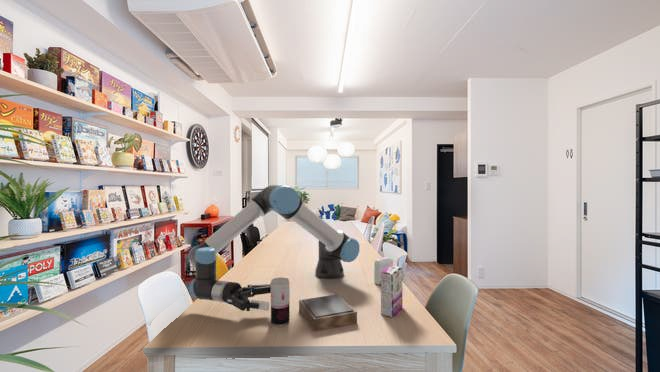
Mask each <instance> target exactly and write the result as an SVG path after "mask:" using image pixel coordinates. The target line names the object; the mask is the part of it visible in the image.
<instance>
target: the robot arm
mask: <svg viewBox="0 0 660 372" xmlns="http://www.w3.org/2000/svg"><path fill="white" fill-rule="evenodd" d="M271 211H273V212H276V213H277V214H278V215H279V216H281V217H282V218H283V219H285V220H287V221H289V220H292V221H293V222H295V224H297V225H298V226H300V227H301V228H302V229H304V230H305V231H306V232H308V233H309V234H310V235H312V236H313V237H314V238H316V239H317V240H318V261H317V264H316V267H315V272H314V273H315V276H316V277H318V278H321V279H336V278H337V279H338V278H341V277H343V276H344V273H345V271H344V267H343V264H342V262H345V263H352V262H354V261H355V260H356V259H357V258H358V257H359V254H360V243H359V242H358V240H357V239H355V238H354V237H350V236H348V235H347V234H346V233H345V232H343V231H342V230H339V229H338V230H336V229H335V228H333V227H332V226H331V225H330V224H329V223H327V222H326V221H325V220H323V219H322V217H320V216H319V215H317V213H315V212H314V211H313V210H311V209H310V208H309V207H308V206H306V205H305V204H304V199H303V198H302V197H300V195H299V193H298V191H297V190H296V189H295V188H293V187H292V186H289V185H285V184H283V185H277V184H276V185H275V184H272V185H268V186H266V187H264V188H263V189H262V190H261V191H259V192H258V193H257V194H256V195H255V196H253V197H252V198H251V199H250V200H249V204H247V205H246V206H245V207H244V208H243V209H241V210H240V211H239V212H237V213H236V214H235V215H234V216H233V217H232V218H230V219H229V220H228V221H227V222H225V224H223V225H222V226H221V227H219V229H217V230H216V231H215V232H213V234H211V235H210V236H209V237H208V238H206V239H205V240H204V241H202V243H200V244H199V245H195V246H194V247H192V248H191V249H190V250H189V254H188V257H189V258H188V259H189V261H190V263H191V264H192V265H193V267H194V268H195V271H194V272H195V278H193V279H191V281H190V282H189V287H188V294H189V295H190V296H191V298H194V299H198V300H205V301H213V302H218V303H221V304H222V303H225V304H228V305H232V306H234V307H235V308H237V309H239V310H240V311H241V312H242V311H243V312H244V311H246V312H250V311H251V309H252V310H260V311H266V312H267V311H269V310H270V302H269V301H264V300H256V299H249V298H254V297H255V296H259V295H265V294H267V295H268V294H271V283H269V284H268V283H267V284H266V283H265V284H264V283H263V284H247V286H243V287H242V285H241V284H240V283H239V282H236V281H235V282H234V281H227V280H218V279H217V258H218V257H217V254H218V253H220V252H221V251H222V250H223V249H224V248H225V247H227V245H229V244H230V243H231V242H232V241H233V240H234V239H236V238H237V237H238V236H239V235H240V234H241V233H243V232H244V231H245V230H246V229H248V227H250V226H251V225H252V224H253V223H254V222H255V221H257V219H259V218H260V217H265V216H266V215H267V214H269V213H270V212H271Z"/></svg>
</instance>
